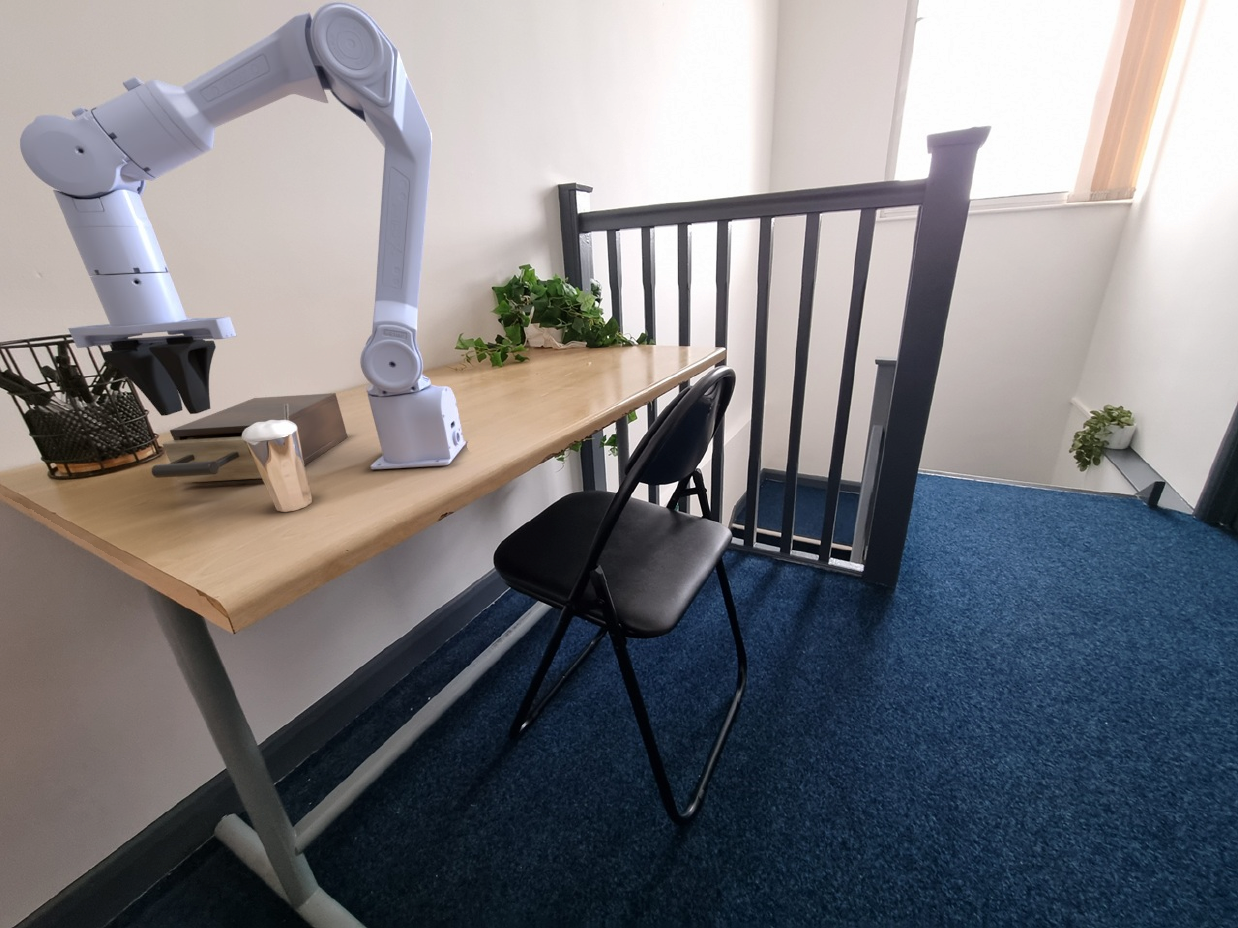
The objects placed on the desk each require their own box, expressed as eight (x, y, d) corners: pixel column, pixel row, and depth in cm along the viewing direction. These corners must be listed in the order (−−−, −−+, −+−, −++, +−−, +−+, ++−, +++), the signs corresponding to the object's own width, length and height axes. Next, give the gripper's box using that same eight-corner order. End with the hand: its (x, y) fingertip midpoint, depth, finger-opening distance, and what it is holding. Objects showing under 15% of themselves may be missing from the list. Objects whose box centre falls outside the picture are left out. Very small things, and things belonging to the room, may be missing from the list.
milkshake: (334, 492, 54) (307, 403, 50) (300, 515, 49) (267, 418, 45) (295, 492, 55) (266, 404, 51) (258, 515, 50) (222, 420, 46)
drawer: (240, 495, 52) (224, 453, 51) (142, 501, 52) (123, 459, 51) (330, 439, 69) (320, 405, 67) (256, 443, 69) (244, 410, 67)
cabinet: (288, 477, 59) (270, 424, 57) (191, 482, 59) (169, 430, 57) (347, 437, 73) (335, 393, 70) (269, 441, 73) (254, 397, 70)
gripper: (236, 269, 51) (277, 398, 56) (96, 278, 51) (150, 406, 56) (180, 270, 44) (234, 416, 50) (20, 280, 44) (90, 424, 50)
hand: (186, 412), depth 52 cm, fingers closed
